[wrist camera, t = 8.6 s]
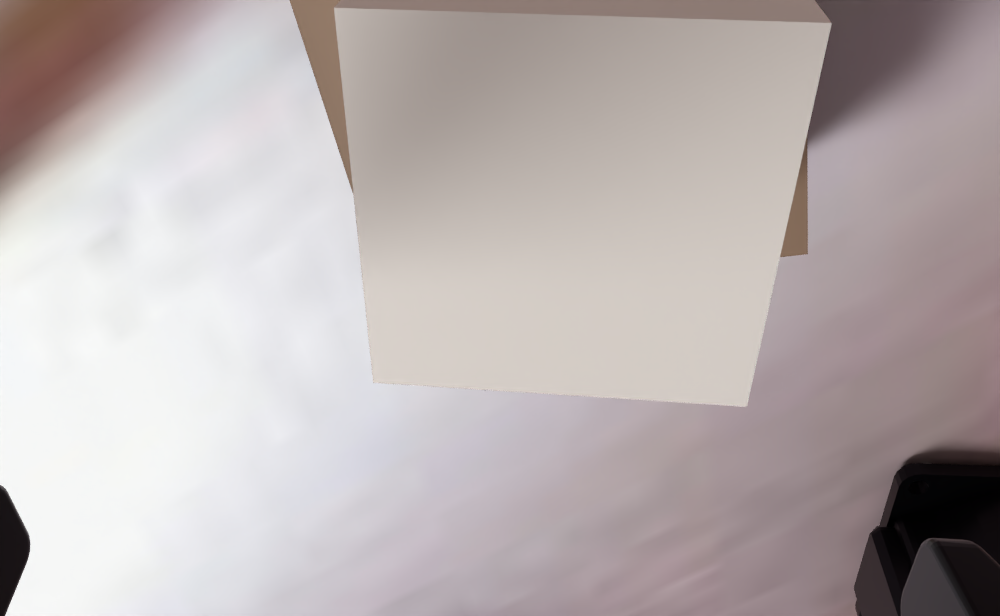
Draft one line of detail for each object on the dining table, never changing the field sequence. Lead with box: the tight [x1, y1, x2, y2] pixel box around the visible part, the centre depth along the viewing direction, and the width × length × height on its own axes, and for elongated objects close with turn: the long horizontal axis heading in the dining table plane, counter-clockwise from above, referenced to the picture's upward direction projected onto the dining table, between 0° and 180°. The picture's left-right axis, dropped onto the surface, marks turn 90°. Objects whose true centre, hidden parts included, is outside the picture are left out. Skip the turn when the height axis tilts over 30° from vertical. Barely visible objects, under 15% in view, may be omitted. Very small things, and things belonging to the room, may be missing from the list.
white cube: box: [334, 0, 832, 407], centre depth 12 cm, size 5×5×5 cm
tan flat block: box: [290, 0, 808, 257], centre depth 16 cm, size 8×8×4 cm
